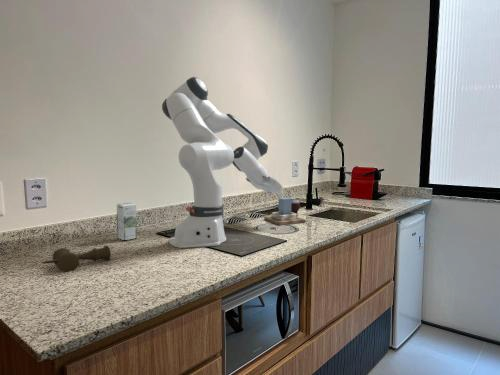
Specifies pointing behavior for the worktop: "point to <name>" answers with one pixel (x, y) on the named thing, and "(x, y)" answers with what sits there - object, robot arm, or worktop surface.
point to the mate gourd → (294, 204)
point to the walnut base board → (284, 219)
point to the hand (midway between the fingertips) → (275, 194)
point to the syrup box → (126, 221)
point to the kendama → (77, 257)
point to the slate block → (284, 206)
